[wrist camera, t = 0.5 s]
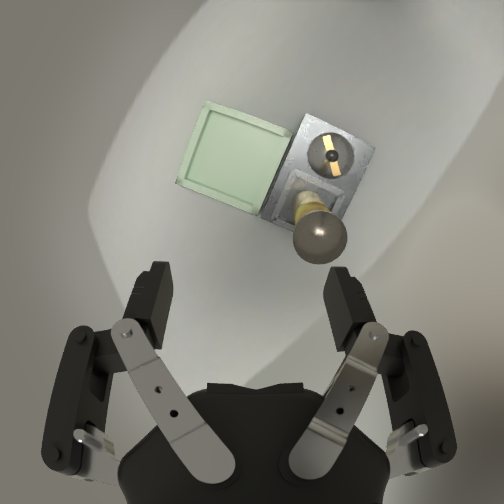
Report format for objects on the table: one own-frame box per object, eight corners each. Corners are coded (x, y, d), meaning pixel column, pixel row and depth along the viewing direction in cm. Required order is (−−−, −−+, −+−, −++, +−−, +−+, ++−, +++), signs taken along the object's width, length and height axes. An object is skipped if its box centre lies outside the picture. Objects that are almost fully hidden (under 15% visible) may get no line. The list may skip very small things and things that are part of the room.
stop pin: (298, 181, 34) (307, 203, 22) (331, 197, 34) (356, 226, 23) (283, 214, 36) (284, 252, 24) (315, 228, 36) (331, 271, 25)
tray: (209, 102, 33) (205, 100, 31) (292, 132, 34) (293, 132, 32) (180, 181, 38) (175, 183, 36) (258, 212, 38) (257, 215, 36)
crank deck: (304, 114, 32) (306, 112, 30) (370, 147, 33) (378, 148, 30) (261, 213, 38) (259, 219, 36) (325, 241, 39) (328, 249, 36)
